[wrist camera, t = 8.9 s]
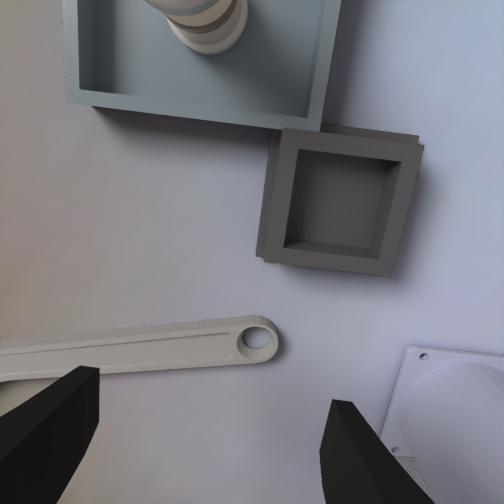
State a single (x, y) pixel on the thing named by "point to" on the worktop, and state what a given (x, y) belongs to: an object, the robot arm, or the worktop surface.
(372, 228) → the dark grey square holder
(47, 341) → the adjustable wrench
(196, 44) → the banded white capsule
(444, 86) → the worktop surface
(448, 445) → the robot arm
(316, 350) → the worktop surface
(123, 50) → the parts tray
